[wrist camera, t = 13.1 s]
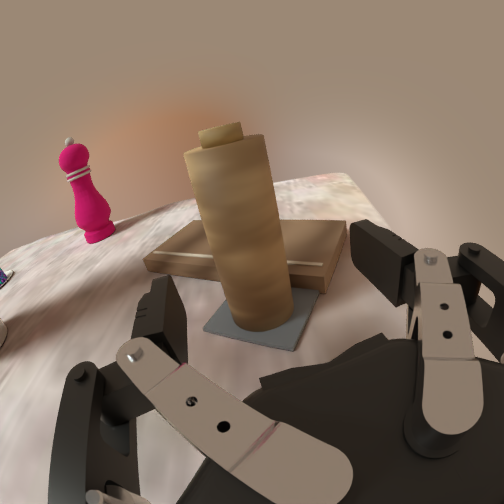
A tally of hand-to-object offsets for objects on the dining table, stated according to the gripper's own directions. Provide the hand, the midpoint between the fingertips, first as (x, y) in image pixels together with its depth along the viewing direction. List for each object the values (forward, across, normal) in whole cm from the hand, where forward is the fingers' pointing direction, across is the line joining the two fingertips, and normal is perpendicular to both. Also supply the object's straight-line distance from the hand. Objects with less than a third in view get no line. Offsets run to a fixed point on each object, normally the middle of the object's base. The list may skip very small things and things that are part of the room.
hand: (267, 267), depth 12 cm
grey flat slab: (+6, 0, +7) cm, 10 cm away
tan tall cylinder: (+6, 0, +7) cm, 9 cm away
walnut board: (+16, 0, +7) cm, 18 cm away
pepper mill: (+39, +24, +7) cm, 46 cm away
